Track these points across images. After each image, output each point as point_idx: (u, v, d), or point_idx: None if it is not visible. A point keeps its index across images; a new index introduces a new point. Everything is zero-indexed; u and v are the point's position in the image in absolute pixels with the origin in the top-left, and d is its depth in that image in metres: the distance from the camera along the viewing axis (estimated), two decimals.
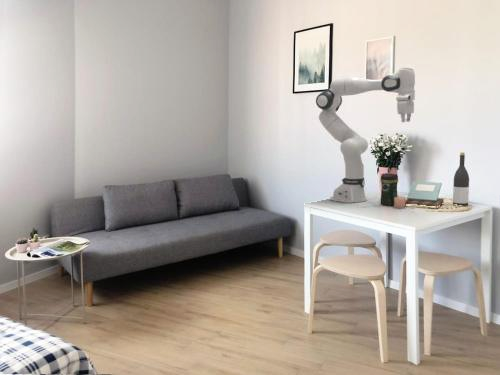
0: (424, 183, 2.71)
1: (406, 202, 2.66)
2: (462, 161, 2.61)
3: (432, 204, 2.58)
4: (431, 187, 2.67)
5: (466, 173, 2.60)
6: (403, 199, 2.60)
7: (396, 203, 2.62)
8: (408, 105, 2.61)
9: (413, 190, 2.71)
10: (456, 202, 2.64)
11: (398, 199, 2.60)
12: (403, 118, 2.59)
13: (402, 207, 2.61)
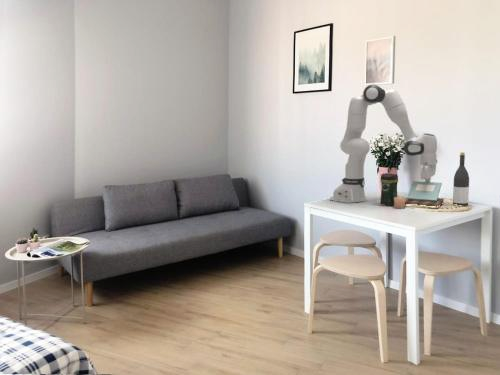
0: (424, 183, 2.71)
1: (406, 202, 2.66)
2: (462, 161, 2.61)
3: (432, 204, 2.58)
4: (431, 187, 2.67)
5: (466, 173, 2.60)
6: (403, 199, 2.60)
7: (396, 203, 2.61)
8: None
9: (413, 190, 2.71)
10: (456, 202, 2.64)
11: (398, 199, 2.60)
12: None
13: (402, 207, 2.61)
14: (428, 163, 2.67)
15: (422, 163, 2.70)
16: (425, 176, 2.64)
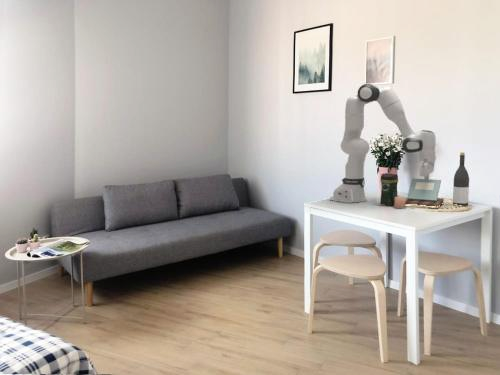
0: (423, 180, 2.70)
1: (406, 202, 2.66)
2: (462, 161, 2.61)
3: (432, 204, 2.58)
4: (430, 185, 2.65)
5: (466, 173, 2.60)
6: (404, 199, 2.60)
7: (397, 203, 2.61)
8: None
9: (413, 188, 2.70)
10: (456, 202, 2.64)
11: (399, 199, 2.60)
12: None
13: (403, 207, 2.61)
14: (427, 160, 2.65)
15: (421, 160, 2.67)
16: (424, 173, 2.61)
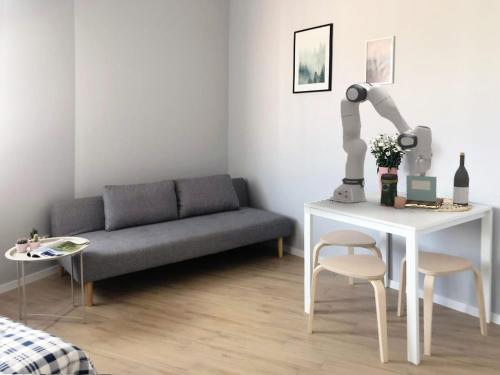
0: (418, 178, 2.60)
1: (406, 202, 2.66)
2: (462, 161, 2.61)
3: (432, 204, 2.58)
4: (427, 184, 2.58)
5: (466, 173, 2.60)
6: (404, 199, 2.60)
7: (397, 203, 2.61)
8: None
9: (410, 188, 2.64)
10: (456, 202, 2.64)
11: (399, 199, 2.60)
12: None
13: (403, 207, 2.61)
14: (423, 156, 2.56)
15: (416, 157, 2.58)
16: (419, 170, 2.52)
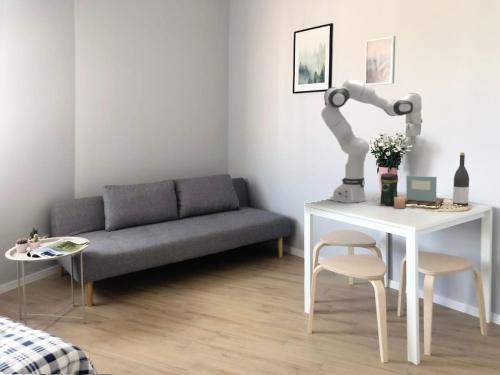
0: (418, 178, 2.60)
1: (406, 202, 2.66)
2: (462, 161, 2.61)
3: (432, 204, 2.58)
4: (427, 184, 2.58)
5: (466, 173, 2.60)
6: (404, 198, 2.61)
7: (399, 203, 2.61)
8: None
9: (410, 188, 2.64)
10: (456, 202, 2.64)
11: (400, 199, 2.60)
12: None
13: (404, 206, 2.61)
14: (413, 122, 2.75)
15: (407, 122, 2.78)
16: (410, 134, 2.72)
